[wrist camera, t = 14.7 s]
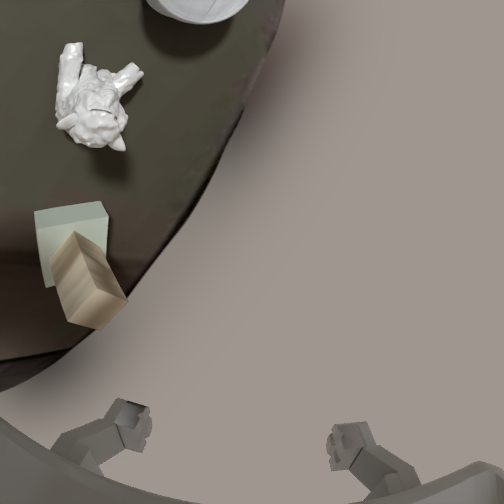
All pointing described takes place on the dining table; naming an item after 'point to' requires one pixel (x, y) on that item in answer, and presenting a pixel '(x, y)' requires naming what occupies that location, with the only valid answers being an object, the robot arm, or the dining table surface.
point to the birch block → (85, 282)
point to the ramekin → (198, 9)
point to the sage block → (68, 230)
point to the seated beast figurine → (92, 100)
